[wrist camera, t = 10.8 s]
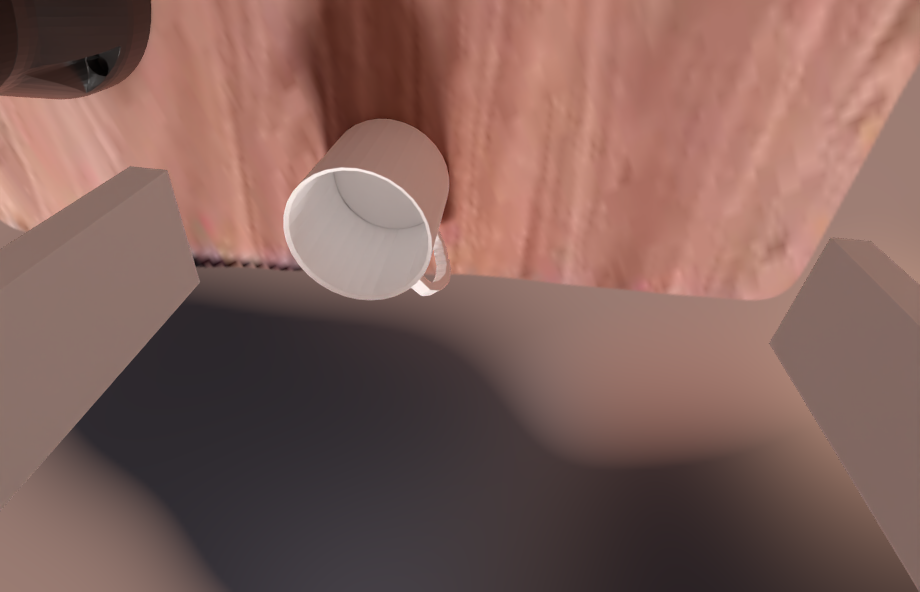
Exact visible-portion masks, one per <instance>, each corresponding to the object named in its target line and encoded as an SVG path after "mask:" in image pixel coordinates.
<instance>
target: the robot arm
mask: <svg viewBox="0 0 920 592" xmlns="http://www.w3.org/2000/svg"><path fill="white" fill-rule="evenodd" d="M150 23H151V8H150V0H0V96H15V97H30V98H46V99H72V98H79V97H84V96H88V95H91V94H94V93H96V92H99V91H102V90H104V89H107V88H109V87H112V86H114V85H116V84H118V83H120V82H121V81H123V80H124V79H125V78H127V77H128V76H129V75H130V74H131V73H132V72H133V71H134V69H135V68H136V67H137V65H138V64H139V62H140V60H141V59H142V56H143V54H144V52H145V49H146V46H147V43H148V39H149V33H150ZM199 283H200V281H199V277H198V274H197V270H196V267H195V264H194V260H193V257H192V253H191V250H190V246H189V243H188V240H187V236H186V233H185V229H184V226H183V222H182V219H181V215H180V212H179V209H178V205H177V202H176V198H175V195H174V191H173V188H172V185H171V181H170V178H169V174H168V171H167V170H161V169H151V168H141V167H131V166H130V167H128V168H127V169H125V170H124V171H122V172H121V173H119V174H117V175H116V176H114V177H113V178H111V179H110V180H108V181H106V182H105V183H103V184H102V185H100V186H99V187H97V188H95V189H94V190H92V191H91V192H89V193H88V194H86V195H84V196H83V197H81V198H80V199H78V200H77V201H75V202H73V203H72V204H70V205H69V206H67V207H66V208H64V209H62V210H61V211H59V212H58V213H56V214H55V215H53V216H51V217H50V218H48V219H47V220H45V221H43V222H42V223H40V224H39V225H37V226H36V227H34V228H32V229H31V230H29V231H28V232H26V233H25V234H23V235H21V236H20V237H18V238H17V239H15V240H14V241H12V242H10V243H9V244H7V245H6V246H4V247H3V248H1V249H0V510H1V509H2V508H3V507H4V506H5V505H6V503H7V502H8V501H9V500H10V499H11V498H12V496H13V495H14V494H15V493H16V492H17V491H18V490H19V489H20V488H21V486H22V485H23V484H24V483H25V482H26V481H27V480H28V478H29V477H30V476H31V475H32V474H33V473H34V472H35V470H36V469H37V468H38V467H39V466H40V465H41V463H42V462H43V461H44V460H45V459H46V458H47V457H48V455H49V454H50V453H51V452H52V451H53V450H54V449H55V447H56V446H57V445H58V444H59V442H61V441H62V439H63V438H64V437H65V436H66V435H67V434H68V433H69V431H70V430H71V429H72V428H73V427H74V426H75V425H76V423H77V422H78V421H79V420H80V419H81V418H82V417H83V415H84V414H85V413H86V412H87V411H88V410H89V409H90V407H91V406H92V405H93V404H94V403H95V402H96V401H97V399H98V398H99V397H100V396H101V395H102V394H103V393H104V391H105V390H106V389H107V388H108V387H109V386H110V385H111V383H112V382H113V381H114V380H115V379H116V378H117V376H118V375H119V374H120V373H121V372H122V371H123V370H124V368H125V367H126V366H127V365H128V364H129V363H130V361H131V360H132V359H133V358H134V357H135V356H136V354H138V352H139V351H140V350H141V349H142V348H143V347H144V346H145V344H146V343H147V342H148V341H149V340H150V339H151V338H152V336H153V335H154V334H155V333H156V332H157V331H158V330H159V328H160V327H161V326H162V325H163V324H164V323H165V322H166V320H167V319H168V318H169V317H170V316H171V315H172V314H173V312H174V311H175V310H176V309H177V308H178V307H179V305H180V304H181V303H182V302H183V301H184V300H185V299H186V298H187V296H188V295H189V294H190V293H191V292H192V291H193V289H194V288H195V287H196V286H197V285H198V284H199ZM769 344H770V345H771V347H772V349H773V350H774V352H775V354H776V355H777V357H778V359H779V360H780V362H781V364H782V365H783V367H784V368H785V370H786V372H787V374H788V375H789V377H790V378H791V380H792V382H793V383H794V385H795V387H796V388H797V390H798V392H799V393H800V395H801V397H802V398H803V400H804V402H805V403H806V405H807V407H808V408H809V410H810V412H811V413H812V415H813V416H814V418H815V420H816V422H817V423H818V425H819V427H820V428H821V430H822V432H823V433H824V435H825V436H826V438H827V440H828V441H829V443H830V445H831V446H832V448H833V450H834V451H835V453H836V455H837V456H838V458H839V460H840V461H841V463H842V464H843V466H844V468H845V470H846V471H847V473H848V475H849V476H850V478H851V479H852V481H853V483H854V485H855V486H856V488H857V489H858V491H859V493H860V494H861V496H862V498H863V499H864V501H865V503H866V504H867V506H868V508H869V509H870V511H871V513H872V514H873V516H874V518H875V519H876V521H877V523H878V524H879V526H880V528H881V529H882V531H883V533H884V534H885V536H886V537H887V539H888V541H889V542H890V544H891V546H892V547H893V549H894V551H895V553H896V554H897V556H898V557H899V559H900V561H901V562H902V564H903V566H904V567H905V569H906V571H907V572H908V574H909V575H910V577H911V579H912V580H913V582H914V584H915V586H916V587H917V589H918V590H919V592H920V285H919V284H918V283H917V282H916V281H915V280H914V279H912V278H911V277H910V276H909V275H908V274H907V273H906V272H905V271H904V270H902V269H901V268H900V267H899V266H898V265H897V264H896V263H895V262H894V261H892V260H891V259H890V258H889V257H888V256H887V255H886V254H885V253H884V252H882V251H881V250H880V249H879V248H878V247H877V246H876V245H874V243H872V242H871V241H863V240H854V239H844V238H834V237H831V238H830V239H829V241H828V243H827V244H826V246H825V248H824V250H823V251H822V253H821V255H820V257H819V258H818V260H817V262H816V263H815V265H814V267H813V269H812V271H811V272H810V274H809V276H808V277H807V279H806V281H805V282H804V284H803V286H802V288H801V289H800V291H799V293H798V295H797V296H796V298H795V300H794V301H793V303H792V305H791V307H790V309H789V310H788V312H787V314H786V315H785V317H784V319H783V320H782V322H781V324H780V326H779V328H778V329H777V331H776V333H775V334H774V336H773V338H772V339H771V342H770V343H769Z"/></svg>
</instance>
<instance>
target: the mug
mask: <svg viewBox="0 0 920 592" xmlns="http://www.w3.org/2000/svg"><path fill="white" fill-rule="evenodd" d="M448 192H449V175H448V170H447V166H446V163H445V161H444V158H443V156H442V154H441V153H440V151H439V150H438V148H437V147H436V145H435V144H434V143H433V142H432V141H431V140H430V139H429V138H428V137H427V136H426V135H425V134H423V133H422V132H421V131H419V130H418V129H416V128H415V127H413V126H410V125H408V124H406V123H404V122H400V121H396V120H392V119H373V120H366V121H364V122H361V123H359V124H356V125H354V126H353V127H351V128H350V129H348V130H347V131H346V132H345V133H344V134H343V135H342V136H341V137H340V138H339V139H338V140H337V142H336V143H335V144H334V145H333V146H332V147H331V148H330V150H329V151H328V152H327V153H326V154H325V155H324V156H323V158H322V159H321V160H320V161H319V162H318V163H317V164H316V166H315V167H314V168H313V169H312V170H311V171H310V172H309V174H308V175H307V176H306V177H305V178H304V179H303V181H302V182H301V183H300V184H299V185H298V186H297V187H296V189H295V190H294V191H293V192H292V194H291V196H290V198H289V200H288V201H287V204H286V208H285V212H284V233H285V238H286V242H287V244H288V246H289V249H290V251H291V254H292V255H293V257H294V258H295V260H296V261H297V263H298V264H299V266H300V267H301V268H302V269H303V270H304V271H305V272H306V273H307V274H308V275H309V276H310V277H311V278H313V279H314V280H315V281H316V282H318V283H319V284H320V285H322V286H324V287H326V288H327V289H329V290H331V291H333V292H335V293H338V294H340V295H343V296H346V297H350V298H355V299H361V300H380V299H387V298H390V297H394V296H397V295H399V294H401V293H403V292H405V291H407V290H408V289H410V288H412V289H414V290H415V291H416V292H417V293H418V294H420V295H421V296H427V295H432V294H433V293H435V292H437V291H439V290H441V289H443V288H444V287H445V286H446V285H447V284H448V283H449V280H450V273H451V265H450V260H449V259H448V253H447V248H446V246H445V242H444V240H443V238H442V235H441V233H440V232H439V226H440V223H441V219H442V216H443V212H444V208H445V205H446V201H447V197H448ZM433 250H434V255H435V261H436V264H437V268H436V276H435V279H434V280H433V282H430V281H429V280H428V279H427V278H425V277H424V276H423V275H424V273H425V271H426V269H427V267H428V265H429V262H430V259H431V255H432V252H433Z"/></svg>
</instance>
